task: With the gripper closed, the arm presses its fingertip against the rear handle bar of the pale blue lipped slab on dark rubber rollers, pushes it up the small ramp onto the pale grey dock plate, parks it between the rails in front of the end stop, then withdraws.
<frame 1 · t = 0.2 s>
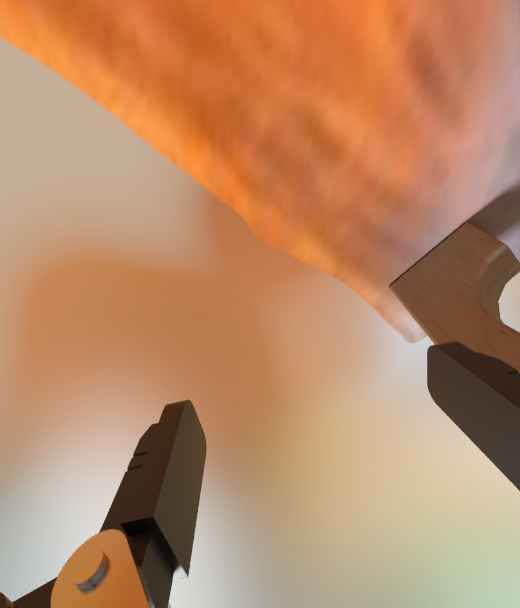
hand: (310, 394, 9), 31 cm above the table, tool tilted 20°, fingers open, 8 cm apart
decorative block: (433, 265, 47), on the table
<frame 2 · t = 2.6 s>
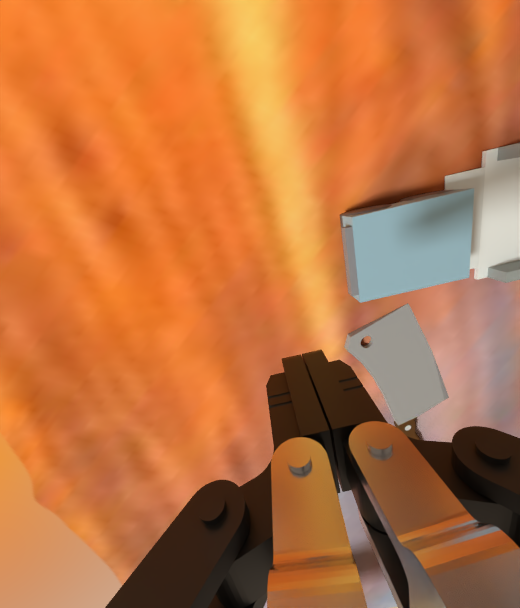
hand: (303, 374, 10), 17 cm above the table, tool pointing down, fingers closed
pale blue lipped slab: (386, 241, 26), on the table
kitchen cleaver: (408, 393, 33), on the table
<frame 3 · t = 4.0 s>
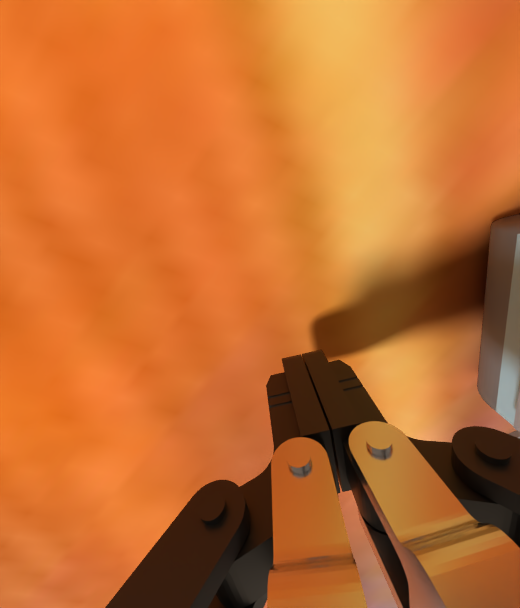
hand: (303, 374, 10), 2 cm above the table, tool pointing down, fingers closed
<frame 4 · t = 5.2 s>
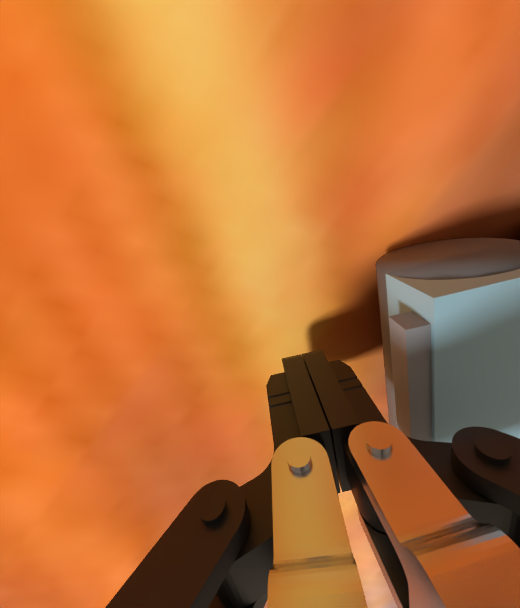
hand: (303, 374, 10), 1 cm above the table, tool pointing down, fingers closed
pale blue lipped slab: (475, 313, 11), on the table, touching gripper
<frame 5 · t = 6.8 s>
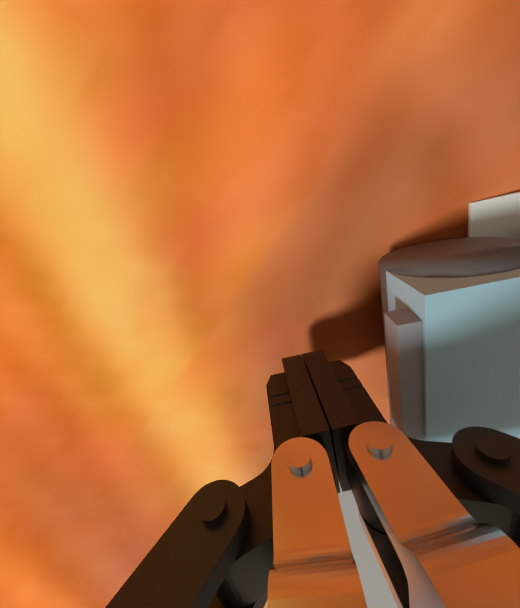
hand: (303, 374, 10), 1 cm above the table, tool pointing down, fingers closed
pale blue lipped slab: (485, 314, 11), on the table, touching gripper
kitchen cleaver: (396, 571, 19), on the table
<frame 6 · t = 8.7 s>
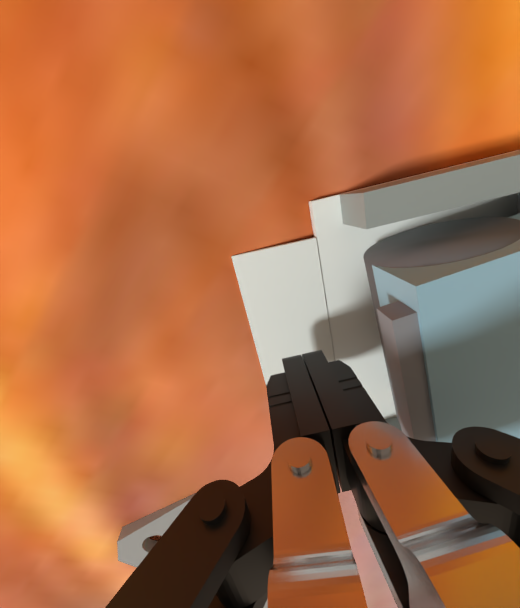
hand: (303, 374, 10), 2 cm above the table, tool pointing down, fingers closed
dock: (467, 307, 12), on the table
pale blue lipped slab: (474, 294, 11), resting on dock, touching gripper
kitchen cleaver: (272, 587, 19), on the table
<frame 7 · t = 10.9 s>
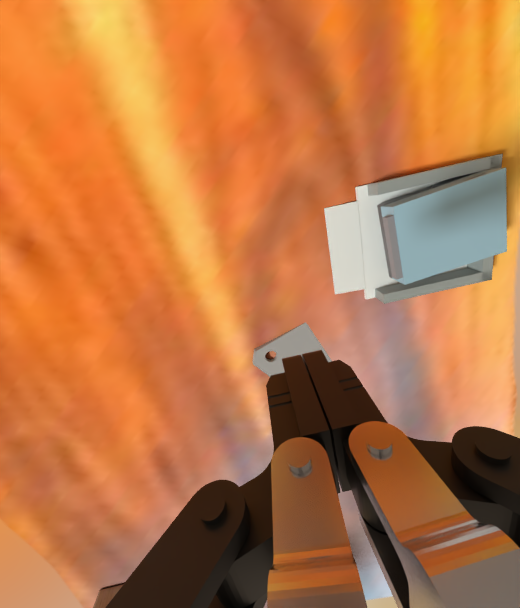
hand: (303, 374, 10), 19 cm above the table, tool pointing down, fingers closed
dock: (417, 233, 28), on the table
pale blue lipped slab: (420, 226, 27), resting on dock
kitchen cleaver: (320, 403, 35), on the table
decorative block: (151, 588, 46), on the table
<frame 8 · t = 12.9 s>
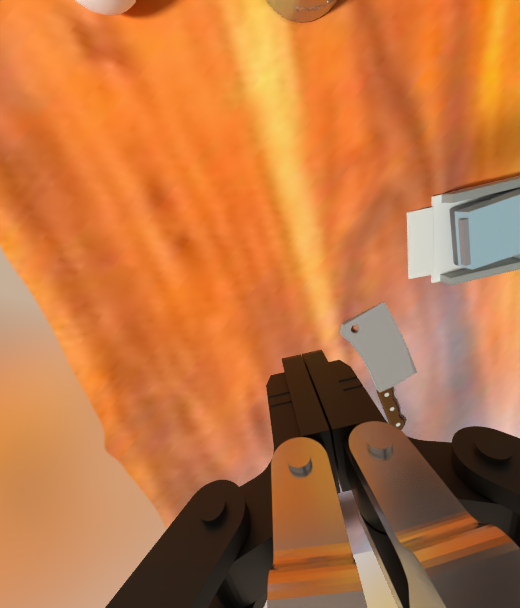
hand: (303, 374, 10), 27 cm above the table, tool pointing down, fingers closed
dock: (475, 231, 36), on the table
pale blue lipped slab: (478, 225, 35), resting on dock
kitchen cleaver: (387, 368, 44), on the table
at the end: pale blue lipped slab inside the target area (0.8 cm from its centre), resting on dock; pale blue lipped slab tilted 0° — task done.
